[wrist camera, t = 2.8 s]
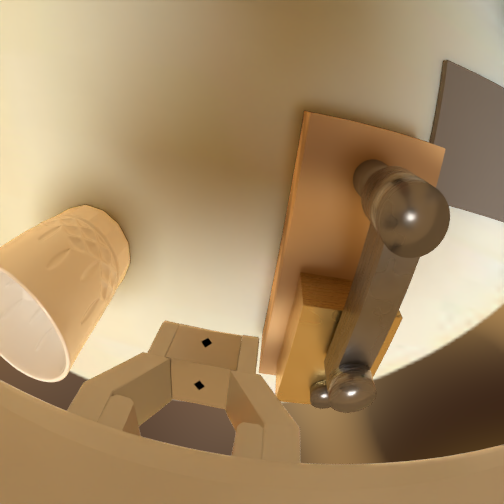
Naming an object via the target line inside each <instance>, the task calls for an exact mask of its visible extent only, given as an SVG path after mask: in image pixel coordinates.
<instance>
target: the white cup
mask: <svg viewBox="0 0 504 504" xmlns="http://www.w3.org/2000/svg"><path fill="white" fill-rule="evenodd" d="M129 265H130V255H129V244H128V241H127V240H126V238H125V236H124V234H123V232H122V230H121V228H120V226H119V224H118V223H117V222H115V221H114V220H113V219H112V218H111V217H110V216H109V215H108V214H107V213H105V212H104V211H103V210H100V209H97V208H94V207H91V206H88V205H82V206H78V207H73V208H69V209H67V210H65V211H64V212H62V213H60V214H58V215H57V216H55V217H52V218H50V219H47V220H45V221H43V222H41V223H40V224H38V225H37V226H35V227H33V228H31V229H29V230H27V231H25V232H23V233H22V234H20V235H19V236H17V237H15V238H14V239H12V240H11V241H9V242H7V243H6V244H4V245H3V246H1V247H0V356H1V357H2V358H4V359H5V360H6V361H7V362H8V363H9V364H11V365H12V366H13V367H15V368H16V369H17V370H19V371H20V372H22V373H24V374H26V375H28V376H30V377H32V378H34V379H37V380H40V381H45V382H57V381H60V380H62V379H63V378H65V377H66V375H67V374H68V372H69V370H70V369H71V367H72V365H73V363H74V361H75V360H76V358H77V356H78V354H79V353H80V351H81V349H82V348H83V346H84V344H85V343H86V341H87V339H88V338H89V336H90V334H91V333H92V331H93V329H94V328H95V326H96V325H97V323H98V321H99V320H100V318H101V316H102V315H103V313H104V311H105V309H106V307H107V306H108V304H109V303H110V301H111V299H112V297H113V296H114V294H115V291H116V289H117V288H118V286H119V285H120V283H121V282H122V281H123V279H124V277H125V275H126V272H127V270H128V267H129Z"/></svg>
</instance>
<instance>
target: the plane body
mask: <svg viewBox="0 0 504 504" xmlns="http://www.w3.org/2000/svg"><path fill="white" fill-rule="evenodd" d="M444 154H445V148H443V147H440V146H437V145H434V144H432V143H429V142H426V141H423V140H420V139H417V138H414V137H411V136H407V135H404V134H401V133H397V132H394V131H390V130H386V129H383V128H379V127H375V126H371V125H367V124H363V123H359V122H355V121H351V120H346V119H342V118H338V117H333V116H328V115H323V114H318V113H313V112H308V111H304V115H303V121H302V127H301V133H300V139H299V145H298V151H297V157H296V162H295V168H294V174H293V179H292V185H291V190H290V196H289V201H288V207H287V212H286V218H285V223H284V228H283V234H282V239H281V244H280V249H279V255H278V260H277V265H276V270H275V275H274V280H273V285H272V290H271V295H270V300H269V305H268V310H267V315H266V320H265V325H264V329H263V334H262V345H261V356H260V366H259V373H264V374H271V375H276V366H277V361H278V358H279V354H280V350H281V347H282V343H283V339H284V335H285V331H286V328H287V324H288V320H289V316H290V312H291V308H292V304H293V300H294V296H295V292H296V288H297V284H298V280H299V275H300V272H302V273H309V274H315V275H322V276H328V277H335V278H342V279H348V280H353V279H354V275H355V272H356V269H357V266H358V263H359V259H360V256H361V253H362V250H363V246H364V243H365V239H366V236H367V232H368V229H369V225H370V221H369V220H368V218H367V217H366V215H365V213H364V211H363V208H362V204H361V195H362V190H363V187H364V185H365V183H366V181H367V180H368V178H369V177H370V176H371V175H372V174H373V173H374V172H376V171H377V170H379V169H381V168H383V167H387V166H399V167H403V168H405V169H407V170H409V171H410V172H412V173H413V174H415V175H417V176H418V177H420V178H421V179H423V180H425V181H426V182H428V183H429V184H431V185H432V186H434V187H435V188H436V185H437V182H438V178H439V174H440V170H441V166H442V162H443V158H444Z"/></svg>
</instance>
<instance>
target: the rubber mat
mask: <svg viewBox="0 0 504 504" xmlns="http://www.w3.org/2000/svg"><path fill="white" fill-rule="evenodd" d="M430 143H432V144H434V145H437V146H440V147H443V148H445V154H444V158H443V162H442V166H441V170H440V174H439V178H438V182H437V185H436V188H437V189H438V190H439V191H440V192H441V193H442V194H443V196H444V197H445V199H446V201H447V203H448V205H449V206H452V207H456V208H459V209H463V210H466V211H469V212H473V213H476V214H479V215H483V216H486V217H489V218H492V219H495V220H498V221H501V222H504V88H503V87H501V86H499V85H498V84H496V83H494V82H492V81H490V80H488V79H486V78H484V77H482V76H480V75H478V74H476V73H474V72H472V71H470V70H468V69H466V68H464V67H462V66H460V65H457V64H455V63H453V62H451V61H448V60H447V61H443V69H442V76H441V83H440V90H439V96H438V102H437V108H436V113H435V119H434V124H433V129H432V134H431V139H430Z"/></svg>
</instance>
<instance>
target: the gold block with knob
mask: <svg viewBox="0 0 504 504" xmlns="http://www.w3.org/2000/svg"><path fill="white" fill-rule="evenodd" d="M352 282H353V280H348V279H342V278H335V277H328V276H322V275H315V274H309V273H302V272H300V275H299V280H298V284H297V288H296V292H295V296H294V300H293V304H292V308H291V312H290V316H289V320H288V324H287V328H286V331H285V335H284V339H283V343H282V347H281V350H280V354H279V358H278V361H277V366H276V390H275V395H276V397H277V398H278V400H279V401H283V402H292V403H303V404H312V405H313V406H314V407H316V408H329V407H331V406H330V402H329V392H328V391H327V385H326V376H325V367H324V360H325V357H326V355H327V352H328V349H329V347H330V344H331V341H332V339H333V336H334V333H335V331H336V328H337V325H338V322H339V320H340V317H341V314H342V311H343V308H344V305H345V303H346V300H347V297H348V294H349V291H350V288H351V285H352ZM401 320H402V316H401V314H400V311H399V310H398V312H397V315H396V317H395V319H394V322H393V324H392V326H391V328H390V330H389V332H388V335H387V337H386V339H385V341H384V343H383V345H382V347H381V349H380V351H379V353H378V355H377V357H376V359H375V361H374V363H373V365H372V367H371V369H370V370H371V373H372V377H373V376H374V374H375V372H376V370H377V369H378V367H379V365H380V363H381V361H382V359H383V357H384V355H385V353H386V351H387V349H388V347H389V345H390V343H391V341H392V339H393V337H394V335H395V333H396V331H397V329H398V327H399V324H400V322H401Z"/></svg>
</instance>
